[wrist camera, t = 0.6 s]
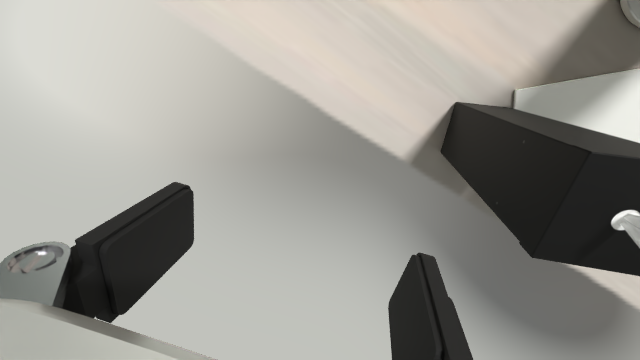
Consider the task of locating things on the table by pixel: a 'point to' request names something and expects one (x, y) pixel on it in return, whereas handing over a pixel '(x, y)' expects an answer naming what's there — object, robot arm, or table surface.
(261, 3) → the table surface
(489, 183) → the black rectangular box
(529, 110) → the white mat
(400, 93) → the table surface
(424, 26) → the table surface
